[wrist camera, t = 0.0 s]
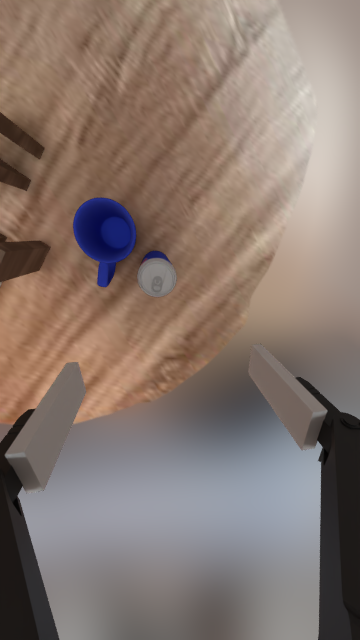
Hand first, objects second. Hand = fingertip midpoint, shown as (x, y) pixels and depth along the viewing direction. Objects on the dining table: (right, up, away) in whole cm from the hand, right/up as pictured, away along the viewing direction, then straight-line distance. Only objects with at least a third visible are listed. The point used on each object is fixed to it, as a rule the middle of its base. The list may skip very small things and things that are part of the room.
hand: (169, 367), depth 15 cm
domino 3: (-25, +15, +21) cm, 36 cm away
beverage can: (-4, +15, +24) cm, 29 cm away
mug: (-11, +18, +22) cm, 30 cm away
